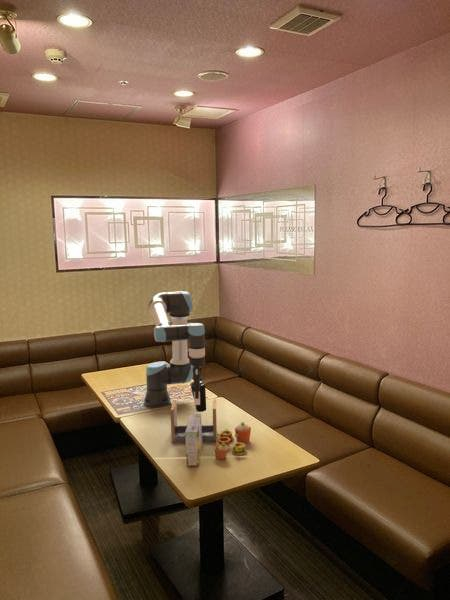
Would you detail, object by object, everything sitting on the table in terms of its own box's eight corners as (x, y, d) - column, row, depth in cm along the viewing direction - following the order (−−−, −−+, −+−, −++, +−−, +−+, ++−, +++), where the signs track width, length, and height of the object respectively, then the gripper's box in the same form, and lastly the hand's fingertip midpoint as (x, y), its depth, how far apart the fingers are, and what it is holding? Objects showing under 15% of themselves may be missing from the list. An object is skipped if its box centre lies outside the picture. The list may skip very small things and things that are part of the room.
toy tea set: (220, 435, 232) (219, 416, 231) (252, 437, 230) (252, 417, 228) (210, 460, 206) (209, 438, 205) (246, 462, 204) (245, 440, 203)
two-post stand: (174, 431, 238) (173, 400, 236) (216, 430, 238) (216, 399, 236) (171, 442, 224) (170, 409, 222) (216, 441, 224) (215, 408, 222)
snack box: (190, 444, 222) (190, 413, 220) (203, 444, 222) (202, 413, 220) (185, 466, 201) (184, 431, 199) (199, 466, 201) (198, 431, 199)
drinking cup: (190, 411, 234) (184, 372, 230) (201, 405, 239) (196, 367, 235) (201, 414, 228) (195, 374, 225) (212, 408, 234) (207, 369, 230)
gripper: (190, 349, 238) (191, 391, 241) (187, 363, 214) (188, 409, 217) (205, 349, 238) (206, 390, 242) (204, 363, 214) (204, 409, 217)
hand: (197, 399), depth 229 cm, fingers open, 13 cm apart
